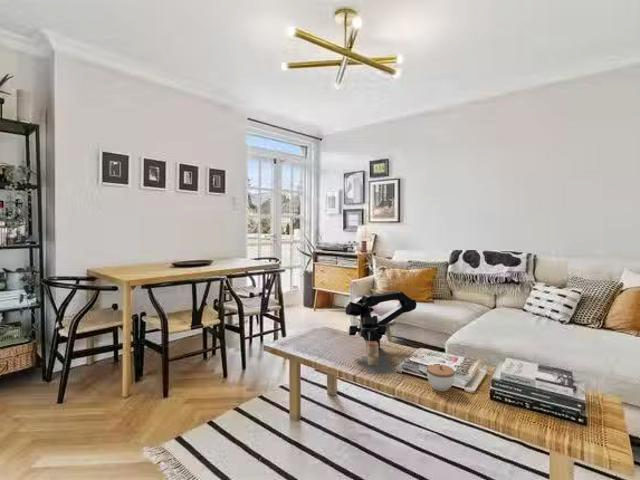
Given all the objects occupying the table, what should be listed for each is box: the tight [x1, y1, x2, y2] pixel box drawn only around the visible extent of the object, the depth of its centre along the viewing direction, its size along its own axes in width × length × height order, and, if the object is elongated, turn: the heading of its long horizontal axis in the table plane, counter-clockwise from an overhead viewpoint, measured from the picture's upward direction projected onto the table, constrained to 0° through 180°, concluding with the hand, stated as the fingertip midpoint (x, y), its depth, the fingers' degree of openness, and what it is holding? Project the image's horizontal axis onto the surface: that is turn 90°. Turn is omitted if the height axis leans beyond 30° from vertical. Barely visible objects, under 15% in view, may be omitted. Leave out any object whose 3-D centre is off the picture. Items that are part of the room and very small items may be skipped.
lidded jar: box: [426, 364, 456, 392], centre depth 150 cm, size 11×11×9 cm
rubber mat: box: [360, 355, 396, 375], centre depth 173 cm, size 12×20×1 cm, turn 4°
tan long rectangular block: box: [366, 341, 379, 365], centre depth 174 cm, size 4×4×10 cm
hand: (369, 346), depth 180 cm, fingers closed
